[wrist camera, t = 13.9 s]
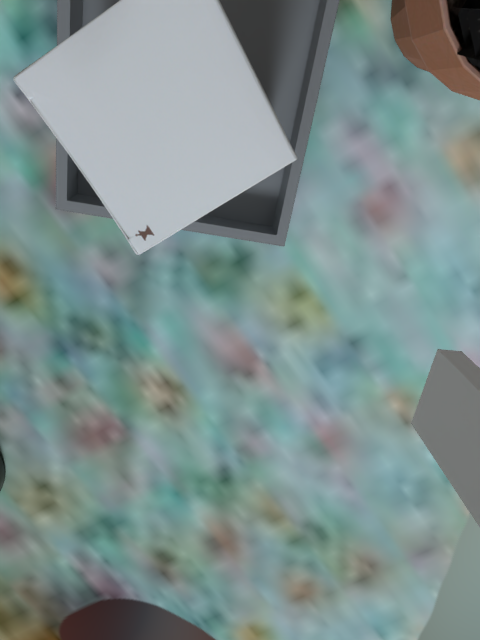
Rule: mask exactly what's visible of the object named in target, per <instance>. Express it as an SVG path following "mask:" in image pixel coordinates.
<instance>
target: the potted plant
mask: <svg viewBox="0 0 480 640" xmlns="http://www.w3.org/2000/svg"><path fill="white" fill-rule="evenodd" d="M391 23H392V28H393V33H394V38H395V41H396V43H397V44H398V46H399V48H400V50H401V52H402V53H403V55H404V57H406V58H407V59H408V60H409V61H410V62H411V63H413V64H414V65H415V66H416V67H417V68H420V69H423V70H426V71H429V72H430V73H432V74H433V75H434V76H435V77H436V78H437V79H438V80H440V81H441V82H442V83H443V84H444V85H445V86H447V87H448V88H449V89H450V90H451V91H453V92H456V93H459V94H462V95H465V96H468V97H471V98H474V99H478V100H480V0H392V10H391Z"/></svg>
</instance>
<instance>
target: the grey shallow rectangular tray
mask: <svg viewBox="0 0 480 640" xmlns="http://www.w3.org/2000/svg"><path fill="white" fill-rule="evenodd" d="M118 1H120V0H57V46H58V45H59V44H60V43H62V42H63V41H65V40H66V39H67V38H69V37H70V36H72V35H73V34H74V33H76V32H77V31H78V30H80V29H81V28H83V27H84V26H85V25H87V24H88V23H90V22H91V21H92V20H94V19H95V18H96V17H98V16H99V15H101V14H102V13H103V12H105V11H106V10H107V9H109V8H110V7H112V6H113V5H114V4H116V3H117V2H118ZM219 1H220V3H221V5H222V7H223V9H224V11H225V13H226V15H227V17H228V19H229V21H230V23H231V25H232V27H233V29H234V31H235V33H236V35H237V37H238V39H239V41H240V43H241V45H242V47H243V49H244V51H245V53H246V55H247V57H248V59H249V61H250V63H251V65H252V67H253V69H254V71H255V73H256V75H257V77H258V79H259V81H260V83H261V85H262V87H263V89H264V91H265V93H266V95H267V97H268V99H269V101H270V103H271V105H272V107H273V109H274V111H275V113H276V115H277V118H278V120H279V122H280V124H281V126H282V128H283V130H284V132H285V134H286V136H287V138H288V140H289V142H290V144H291V146H292V148H293V150H294V152H295V154H296V156H297V160H296V161H294V162H292V163H290V164H289V165H287V166H285V167H284V168H282V169H280V170H279V171H277V172H275V173H274V174H272V175H270V176H269V177H267V178H265V179H264V180H262V181H260V182H259V183H257V184H255V185H254V186H252V187H250V188H249V189H247V190H245V191H244V192H242V193H240V194H239V195H237V196H236V197H234V198H232V199H231V200H229V201H227V202H226V203H224V204H222V205H221V206H219V207H217V208H216V209H214V210H212V211H211V212H209V213H207V214H206V215H204V216H203V217H201V218H199V219H198V220H196V221H194V222H193V223H191V224H189V225H188V226H186V227H184V228H183V229H181V230H186V231H192V232H198V233H205V234H211V235H217V236H223V237H229V238H235V239H241V240H248V241H254V242H260V243H266V244H272V245H278V246H284V245H285V241H286V237H287V232H288V228H289V223H290V219H291V214H292V210H293V205H294V201H295V196H296V192H297V187H298V183H299V178H300V174H301V170H302V165H303V161H304V156H305V152H306V147H307V143H308V138H309V134H310V129H311V125H312V120H313V116H314V111H315V107H316V103H317V98H318V94H319V89H320V85H321V80H322V76H323V71H324V67H325V62H326V58H327V53H328V49H329V44H330V40H331V36H332V31H333V27H334V22H335V18H336V13H337V9H338V4H339V0H219ZM56 209H57V210H63V211H69V212H76V213H82V214H88V215H94V216H100V217H106V218H112V216H111V215H110V213H109V212H108V210H107V209H106V207H105V206H104V204H103V203H102V201H101V200H100V198H99V197H98V196H97V194H96V193H95V191H94V190H93V188H92V187H91V185H90V184H89V182H88V181H87V180H86V178H85V177H84V175H83V174H82V172H81V171H80V170H79V168H78V167H77V165H76V164H75V163H74V161H73V160H72V158H71V157H70V156H69V154H68V153H67V151H66V150H65V149H64V147H63V146H62V145H61V143H60V142H59V141H58V139H57V138H56ZM112 219H113V218H112Z"/></svg>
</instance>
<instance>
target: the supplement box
mask: <svg viewBox="0 0 480 640" xmlns="http://www.w3.org/2000/svg"><path fill="white" fill-rule="evenodd" d="M14 81H15V83H16V84H17V85H18V87H19V88H20V89H21V91H22V92H23V93H24V95H25V96H26V97H27V99H28V100H29V101H30V102H31V104H32V105H33V106H34V108H35V109H36V111H37V112H38V113H39V115H40V116H41V117H42V119H43V120H44V121H45V123H46V124H47V125H48V127H49V128H50V130H51V131H52V132H53V134H54V135H55V137H56V138H57V139H58V141H59V142H60V143H61V145H62V146H63V147H64V149H65V150H66V151H67V153H68V154H69V156H70V157H71V158H72V160H73V161H74V163H75V164H76V165H77V167H78V168H79V170H80V171H81V172H82V174H83V175H84V177H85V178H86V180H87V181H88V182H89V184H90V185H91V187H92V188H93V190H94V191H95V193H96V194H97V196H98V197H99V198H100V200H101V201H102V203H103V204H104V206H105V207H106V209H107V210H108V212H109V213H110V215H111V216H112V218H113V219H114V221H115V222H116V224H117V225H118V227H119V228H120V229H121V231H122V233H123V234H124V236H125V237H126V239H127V240H128V242H129V244H130V245H131V247H132V249H133V250H134V252H135V253H136V254H137V255H140V254H141V253H143V252H145V251H146V250H148V249H150V248H151V247H153V246H155V245H156V244H158V243H160V242H161V241H163V240H165V239H166V238H168V237H169V236H171V235H173V234H174V233H176V232H178V231H179V230H181V229H183V228H184V227H186V226H188V225H189V224H191V223H193V222H194V221H196V220H198V219H199V218H201V217H203V216H204V215H206V214H207V213H209V212H211V211H212V210H214V209H216V208H217V207H219V206H221V205H222V204H224V203H226V202H227V201H229V200H231V199H232V198H234V197H236V196H237V195H239V194H240V193H242V192H244V191H245V190H247V189H249V188H250V187H252V186H254V185H255V184H257V183H259V182H260V181H262V180H264V179H265V178H267V177H269V176H270V175H272V174H274V173H275V172H277V171H279V170H280V169H282V168H284V167H285V166H287V165H289V164H290V163H292V162H294V161H296V160H297V156H296V154H295V152H294V150H293V148H292V146H291V144H290V142H289V140H288V138H287V136H286V134H285V132H284V130H283V128H282V126H281V124H280V122H279V120H278V118H277V115H276V113H275V111H274V109H273V107H272V105H271V103H270V101H269V99H268V97H267V95H266V93H265V91H264V89H263V87H262V85H261V83H260V81H259V79H258V77H257V75H256V73H255V71H254V69H253V67H252V65H251V63H250V61H249V59H248V57H247V55H246V53H245V51H244V49H243V47H242V45H241V43H240V41H239V39H238V37H237V35H236V33H235V31H234V29H233V27H232V25H231V23H230V21H229V19H228V17H227V15H226V13H225V11H224V9H223V7H222V5H221V3H220V1H219V0H120V1H118V2H117V3H116V4H114V5H113V6H112V7H110V8H109V9H107V10H106V11H105V12H103V13H102V14H101V15H99V16H98V17H96V18H95V19H94V20H92V21H91V22H90V23H88V24H87V25H85V26H84V27H83V28H81V29H80V30H78V31H77V32H76V33H74V34H73V35H72V36H70V37H69V38H67V39H66V40H65V41H63V42H62V43H60V44H59V45H58V46H56V47H55V48H54V49H52V50H51V51H49V52H48V53H46V54H45V55H44V56H42V57H41V58H39V59H38V60H37V61H35V62H34V63H32V64H31V65H29V66H28V67H27V68H25V69H24V70H22V71H21V72H20V73H18V74H17V75H16V76H15V77H14Z"/></svg>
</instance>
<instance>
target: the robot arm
mask: <svg viewBox="0 0 480 640" xmlns="http://www.w3.org/2000/svg"><path fill="white" fill-rule="evenodd" d="M411 424H412V425H413V427H414V428H415V430H416V431H417V433H418V434H419V436H420V437H421V439H422V441H423V442H424V444H425V445H426V447H427V448H428V450H429V451H430V453H431V454H432V456H433V457H434V459H435V460H436V462H437V463H438V465H439V466H440V468H441V469H442V471H443V472H444V474H445V475H446V477H447V478H448V480H449V481H450V483H451V484H452V486H453V487H454V489H455V491H456V492H457V494H458V495H459V497H460V498H461V500H462V501H463V503H464V504H465V506H466V507H467V509H468V510H469V512H470V513H471V515H472V516H473V518H474V519H475V521H476V522H477V524H478V525H479V527H480V368H479V367H478V366H477V365H475V364H474V363H473V362H472V361H471V360H470V359H469V358H468V357H467V356H466V355H465V354H464V353H463V352H462V351H452V350H441V349H438V350H437V352H436V355H435V358H434V361H433V364H432V366H431V369H430V372H429V375H428V378H427V380H426V383H425V386H424V389H423V392H422V395H421V397H420V400H419V403H418V406H417V409H416V411H415V414H414V417H413V420H412V423H411ZM4 479H5V469H4V464H3V460H2V458H1V455H0V491H1V489H2V486H3V483H4Z"/></svg>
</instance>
